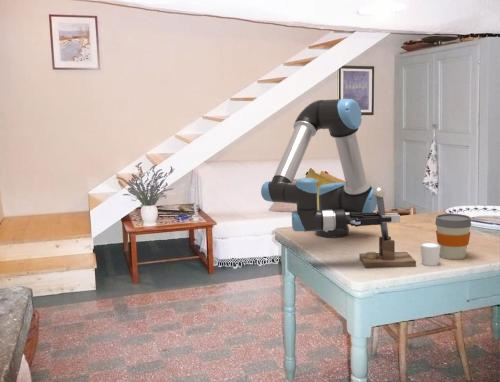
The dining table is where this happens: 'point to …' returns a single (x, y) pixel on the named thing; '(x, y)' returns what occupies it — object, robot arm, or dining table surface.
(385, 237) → the lever
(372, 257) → the lever stand
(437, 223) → the reusable coffee cup
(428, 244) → the white cylinder
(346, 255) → the dining table surface
